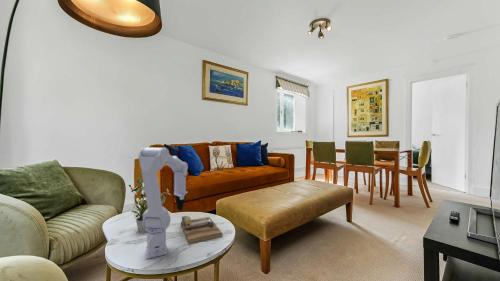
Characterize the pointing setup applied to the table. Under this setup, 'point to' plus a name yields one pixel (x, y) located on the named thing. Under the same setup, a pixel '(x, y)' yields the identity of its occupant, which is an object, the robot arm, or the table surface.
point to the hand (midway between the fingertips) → (179, 209)
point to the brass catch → (187, 220)
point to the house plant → (140, 216)
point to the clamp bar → (198, 223)
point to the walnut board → (200, 231)
